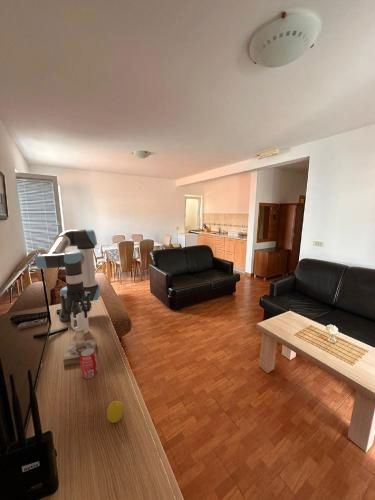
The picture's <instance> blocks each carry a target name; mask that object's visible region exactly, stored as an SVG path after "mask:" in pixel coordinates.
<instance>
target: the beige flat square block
mask: <svg viewBox="0 0 375 500" xmlns="http://www.w3.org/2000/svg"><path fill="white" fill-rule="evenodd" d="M84 341H85V347H84V348H85V349H86V348H94V350H95V352H96V351H97V346H98V345H97V344H98V343H97V338H94V339H89V340H84ZM81 352H82V351H80V352H78V350H77V346H76V342H71V343H69V344H68V346H67V348H66V351H65V354H64V357H63V359H62V360H63V361H62V363H63V367H68V366H71V365H76V364H80V355H81ZM96 353H97V352H96Z"/></svg>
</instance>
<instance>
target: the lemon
mask: <svg viewBox="0 0 375 500" xmlns="http://www.w3.org/2000/svg"><path fill="white" fill-rule="evenodd" d="M123 413H124V407H123V404H122V402H121V401H119V400H117V399H116V400H112V402H110V403H109V405H108V406H107V410H106V415H107V416H106V417H107V419H108V421H109V422H110V423H112V424H113V423H117V422H119V421H121V419H122V417H123V415H124V414H123Z"/></svg>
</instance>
